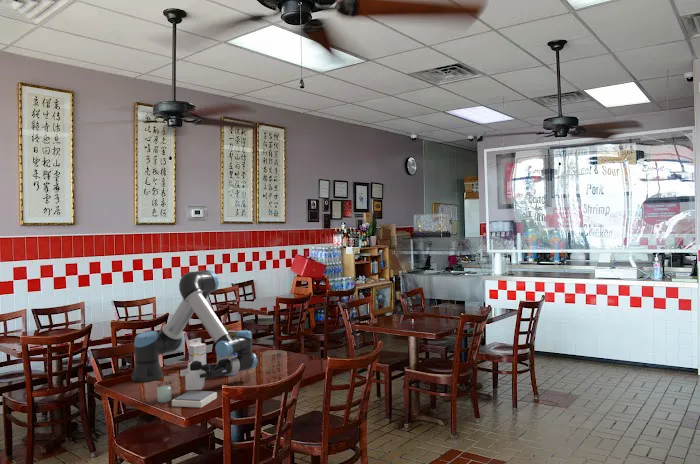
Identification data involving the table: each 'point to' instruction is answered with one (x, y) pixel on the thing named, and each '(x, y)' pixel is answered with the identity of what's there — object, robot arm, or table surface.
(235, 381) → the table surface
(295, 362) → the table surface
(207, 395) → the podium
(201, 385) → the medicine bottle
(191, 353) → the ink cartridge box
